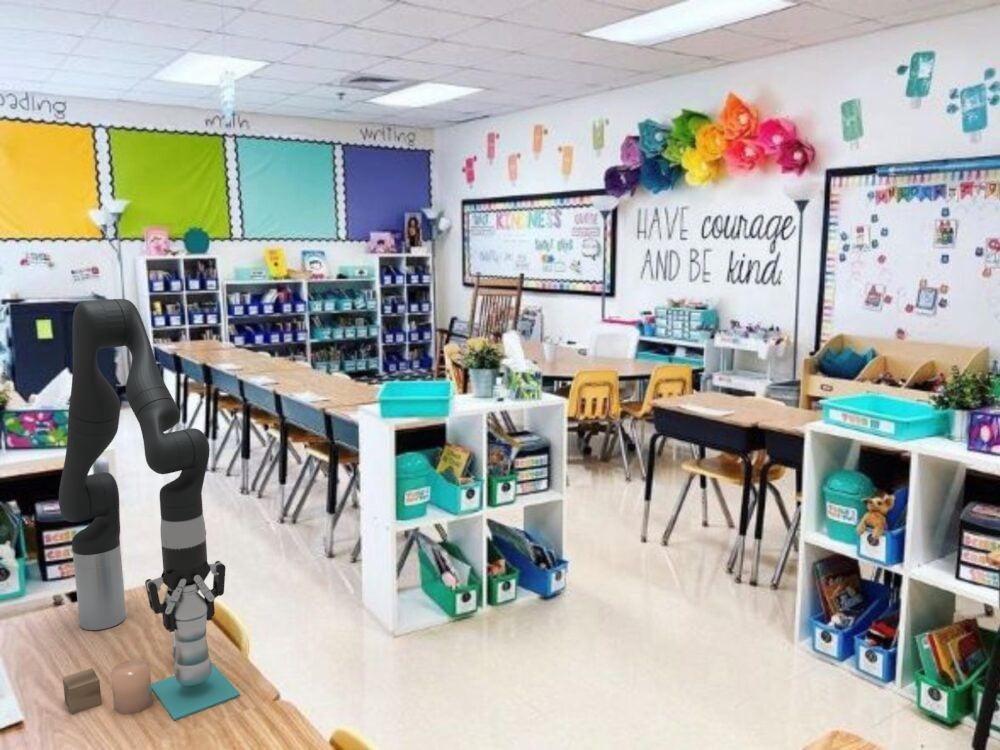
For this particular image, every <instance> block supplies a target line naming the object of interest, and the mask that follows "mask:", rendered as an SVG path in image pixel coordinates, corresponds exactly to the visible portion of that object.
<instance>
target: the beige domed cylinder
mask: <svg viewBox="0 0 1000 750" xmlns="http://www.w3.org/2000/svg"><path fill="white" fill-rule="evenodd" d="M110 676H111V686H112V687H111V689H112V697H113V698H112V700H113V709H114V711H115V713H118V714H120V715H133V714H136V713H139V712H142V711H144V710H146V709H148V708H149V707H150V706H151V705H152V703H153V700H154V699H153V690H152V686H151V684H152V674H151V665H150V662H149V661H148V660H145V659H140V658H139V659H136V658H135V659H130V660H126V661H123V662H120V663H118V664H117V665H115V666H114V667H113V668H112V669H111V671H110Z"/></svg>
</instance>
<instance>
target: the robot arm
mask: <svg viewBox="0 0 1000 750" xmlns="http://www.w3.org/2000/svg"><path fill="white" fill-rule="evenodd" d="M73 311H74V312H73V315H72V335H71V336H72V376H71V380H72V381H71V388H70V389H71V390H70V397H69V404H68V413H67V414H68V415H67V416H68V417H67V432H66V433H67V436H66V437H67V438H66V448H65V450H66V451H65V459H64V464H63V467H62V473H61V477H60V484H59V489H58V506H59V507H58V508H59V512H60V514H61V516H62V518H63V519H64V520H65V521H67V522H69V523H77V522H79V523H80V522H84V521H88V520H92V519H93V521H92V522H91V523H90V524H88V525H87V526H86V527H84V528H83V529H81V530H80V531H78V532H77V533H76V534H74V535H73V538H71V539H72V540H71V548H72V558H73V559H72V561H73V570H74V579H75V588H76V589H75V590H76V597H77V598H76V599H77V611H78V620H79V622H78V623H79V627H80V628H81V629H82V630H85V631H87V630H88V631H99V630H100V631H101V630H105V629H106V630H107V629H110V628H112V627H115V626H117V625H119V624H121V623H122V622H124V621H125V620H126V618H127V609H126V599H125V598H126V597H125V585H124V584H125V583H124V573H123V562H122V553H121V540H120V538H121V537H120V536H121V520H120V519H121V518H120V517H121V516H120V492H119V487H118V483H117V481H116V478H115V477H114V476H113V474H111V473H110V472H107V471H106V472H103V471H102V472H97V473H93V474H89V472H90V471H91V468H92V467H93V466H94V464H95V463H96V462H97V461H98V459H99V458H100V456H101V455H102V454H103V453H104V452H105V451H106V449H108V447H109V446H110V444H111V443H112V442H113V441H114V439H115V437H116V435H117V433H118V430H119V424H120V415H121V406H122V405H121V400H120V397H119V395H118V393H117V392H116V390H115V389H114V387H113V386H112V385H111V383H110V382H109V381H108V379H106V377H105V376H104V374H103V373H102V372H101V369H100V368H99V366H98V353H99V350H104V349H111V348H120V347H126V348H127V349H128V350H129V353H130V354H131V355H130V356H131V364H130V368H129V372H128V375H127V378H126V383H125V395H126V398H127V402H128V404H129V407H130V408H131V410H132V412H133V414H134V416H135V418H136V420H137V422H138V424H139V426H140V430H141V435H142V441H143V446H144V447H143V448H144V456H145V462H146V464H147V465H148V467H149V469H151V470H152V471H153V472H155V473H157V474H159V475H168V474H172V473H176V472H180V474H179V475H178V477H177V478H175V479H174V480H172V481H170V482H168V483H166V484H164V485H163V486H162V487H161V488H160V490H159V505H160V506H159V507H160V509H159V510H160V541H161V543H160V544H161V554H162V555H161V556H162V569H163V571H162V573H161V575H160V577H158V578H155V579H151V578H148V579H146V580H145V581H144V585H145V589H146V593H147V594H146V595H147V597H148V602H149V607H150V609H151V610H152V612H153V613H154V614H155V615H159V614H162V625H163V627H164V629H165V630H167V631H168V632H169V633H174V631H175V628H174V614H173V612H172V610H173V607H174V605H175V603H176V602H177V601H178V599H179V596H180V595H181V593H182V589H183V588H184V586H188V585H192V584H195V583H196V584H197V585H198V588H199V592H200V593H201V595H202V597H203V598H204V599H205V601H206V603H207V606H208V611H207V622H208V621H212V620H213V617H214V616H215V613H216V612H215V599H216V598H218V597H219V596H220V597H221V596H223V595H224V594H225V583H226V581H225V580H226V565H225V564H224V563H222V562H221V561H220V560H216V561H215V562H214V563H208V553H207V552H208V549H207V548H208V547H207V529H206V522H205V517H204V513H203V512H204V511H203V510H204V509H203V507H204V506H203V495H202V492H203V488H204V487H203V486H204V482H205V477H206V473H207V468H208V463H209V460H210V459H209V458H210V442H209V440H208V438H207V436H206V434H205V433H204V432H203V431H202V430H200V429H198V428H193V427H192V428H185V429H181V430H177V431H170V432H167V431H168V430H171V429H172V428H174V427H175V426H176V425H177V424H178V423H179V421H180V419H181V412H180V409H179V407H178V405H177V403H176V402H175V399H174V397H173V396H172V394H171V392H170V390H169V389H168V387H167V385H166V383H165V381H164V379H163V377H162V374H161V372H160V370H159V366H158V363H157V359H156V358H155V353H154V350H153V348H152V345H151V342H150V338H149V336H148V333H147V330H146V328H145V325H144V322H143V319H142V316H141V314H140V311H139V310H138V308H137V307H136V305H135V304H134V303H133V301H131V300H129V299H126V298H113V299H110V298H108V299H96V300H95V299H94V300H85V301H81V302H79V303H78V304H77V305H76V306H75V308H74V310H73ZM210 572H211V574H212V575H213V581H212V588H211V589H210V588H209V587H208V585H207V584H206V582H205V581H206V579H207V577H208V576H209V574H210ZM162 585H165V586H166V591H165V592H164V598H163V600H162V602H161V600H160V597H159V593H158V592H160V590H161V586H162Z"/></svg>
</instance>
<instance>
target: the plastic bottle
mask: <svg viewBox="0 0 1000 750" xmlns="http://www.w3.org/2000/svg"><path fill="white" fill-rule="evenodd" d="M199 592H200V590H199V588H198V585H197V584H196V583H195V584H192V585H188V586H184V588H183V589H182V593H181V595H180V596H179V599H178V601H177V602H176V603H175V605H174V607H173V610H172V612H173V614H174V628H175V631H173V633H174V635H175V642H176V660H175V661H174V666H173V667H174V668H173V674H174V676H175V678H176V681H177V682H178V683H179V684H180V685H182V686H185V687H194V686H198V685H201V684H203V683H205V682H206V681H207V680H208V679H209V677H210V675H211V671H212V664H211V663H212V660H211V657H210V654H209V648H208V642H207V622H208V621H207V611H208V606H207V603H206V601H205V599H204V598H205V597H204V596H203V595H202V594H200V593H199Z"/></svg>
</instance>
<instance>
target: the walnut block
mask: <svg viewBox="0 0 1000 750" xmlns="http://www.w3.org/2000/svg"><path fill="white" fill-rule="evenodd" d="M62 686H63V696H64V703H65V705H66V706H67V708H68V710H69V712H70V715H71V716H72V715H75V714H77V713H80V712H83V711H86V710H89V709H92V708H96V707H99V706H100V705H102V704H103V701H102V691H101V683H100V678H99V676H98V675H97V673H96V671H95V670H94V668H93V667H92V668H91V667H90V668H88V669H85V670H81V671H79V672H75V673H72V674H69V675H66V676H63V677H62Z"/></svg>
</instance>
